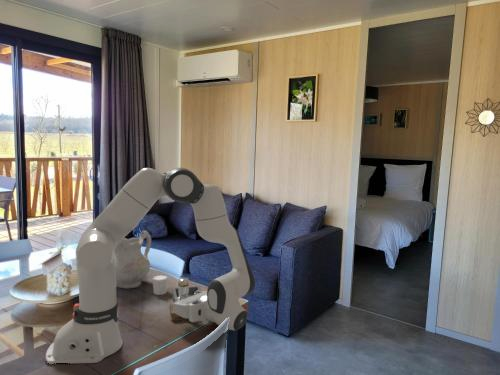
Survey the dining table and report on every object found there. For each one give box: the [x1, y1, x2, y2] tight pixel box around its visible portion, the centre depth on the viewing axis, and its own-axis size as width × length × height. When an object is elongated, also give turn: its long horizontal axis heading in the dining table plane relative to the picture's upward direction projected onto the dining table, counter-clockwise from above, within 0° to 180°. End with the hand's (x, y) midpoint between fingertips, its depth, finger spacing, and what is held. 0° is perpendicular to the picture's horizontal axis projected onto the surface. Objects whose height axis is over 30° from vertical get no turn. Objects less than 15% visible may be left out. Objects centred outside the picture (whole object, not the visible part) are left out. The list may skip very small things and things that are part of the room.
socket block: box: [169, 301, 189, 322], centre depth 146 cm, size 10×10×3 cm
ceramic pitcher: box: [115, 229, 152, 290], centre depth 176 cm, size 22×20×25 cm
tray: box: [171, 285, 202, 302], centre depth 159 cm, size 12×12×4 cm
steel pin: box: [177, 277, 190, 300], centre depth 146 cm, size 4×4×14 cm
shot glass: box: [151, 274, 169, 296], centre depth 167 cm, size 7×7×7 cm
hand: (186, 295), depth 144 cm, fingers open, 8 cm apart
